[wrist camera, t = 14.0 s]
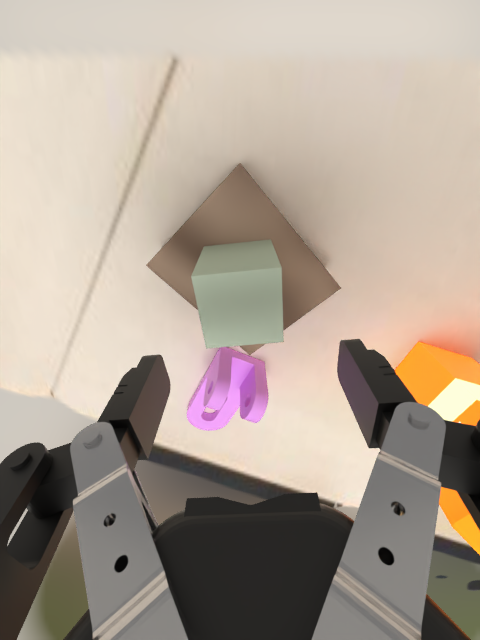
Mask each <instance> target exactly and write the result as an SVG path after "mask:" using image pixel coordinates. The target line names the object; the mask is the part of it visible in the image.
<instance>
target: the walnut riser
mask: <svg viewBox="0 0 480 640" xmlns="http://www.w3.org/2000/svg"><path fill="white" fill-rule="evenodd" d="M270 239H271V241H272V244H273V246H274V249H275V252H276V254H277V257H278V259H279V262H280V264H281V267H282V301H283V330H285V329H286V328H287V327H289V326H290V325H291V324H293V323H294V322H296V321H297V320H298V319H300V318H301V317H302V316H304V315H305V314H306V313H308V312H309V311H311V310H312V309H313V308H315V307H316V306H317V305H319V304H320V303H321V302H323V301H324V300H326V299H327V298H328V297H330V296H331V295H332V294H334V293H335V292H336V291H338V290H339V289H341V287H340V286H339V285H338V284H337V282H336V281H335V280H334V279H333V277H332V276H331V275H330V274H329V272H328V271H327V270H326V269H325V268H324V266H323V265H322V264H321V263H320V261H319V260H318V259H317V258H316V256H315V255H314V254H313V253H312V251H311V250H310V249H309V248H308V247H307V245H306V244H305V243H304V242H303V240H302V239H301V238H300V237H299V235H298V234H297V233H296V232H295V230H294V229H293V228H292V227H291V226H290V224H289V223H288V222H287V221H286V219H285V218H284V217H283V216H282V214H281V213H280V212H279V211H278V209H277V208H276V207H275V206H274V205H273V203H272V202H271V201H270V200H269V198H268V197H267V196H266V195H265V193H264V192H263V191H262V190H261V188H260V187H259V186H258V185H257V184H256V182H255V181H254V180H253V179H252V177H251V176H250V175H249V174H248V172H247V171H246V170H245V169H244V167H243V166H242V165H241V164H239V165H238V166H237V167H236V168H235V169H234V170H233V171H232V172H231V173H230V174H229V176H228V177H227V178H226V179H225V180H224V181H223V182H222V183H221V184H220V185H219V186H218V188H217V189H216V190H215V191H214V192H213V193H212V194H211V195H210V196H209V197H208V198H207V200H206V201H205V202H204V203H203V204H202V205H201V206H200V207H199V208H198V209H197V210H196V212H195V213H194V214H193V215H192V216H191V217H190V218H189V219H188V220H187V221H186V222H185V224H184V225H183V226H182V227H181V228H180V229H179V230H178V231H177V232H176V233H175V234H174V236H173V237H172V238H171V239H170V240H169V241H168V242H167V243H166V244H165V245H164V246H163V248H162V249H161V250H160V251H159V252H158V253H157V254H156V255H155V256H154V257H153V258H152V260H151V261H150V262H149V263H148V264H147V265H146V266H148V267H149V268H150V269H151V270H152V271H153V272H154V273H156V274H157V275H158V276H159V277H160V278H161V279H163V280H164V281H165V282H166V283H167V284H168V285H169V286H171V287H172V288H173V289H174V290H175V291H176V292H178V293H179V294H180V295H181V296H182V297H183V298H184V299H186V300H187V301H188V302H189V303H190V304H191V305H193V306H194V307H195V308H196V309H197V310H198V307H197V302H196V297H195V293H194V288H193V283H192V278H191V275H192V273H193V271H194V268H195V266H196V264H197V261H198V259H199V257H200V254H201V252H202V250H203V247H204V246H213V245H223V244H232V243H241V242H251V241H260V240H270ZM265 344H266V343H265ZM263 345H264V344H254V345H242V346H240V347H241V348H242V349H243V350H245V351H246V352H247V353H248V354H249V355H251V354H252V353H253V352H255V351H256V350H257V349H259V348H260V347H261V346H263Z"/></svg>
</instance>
